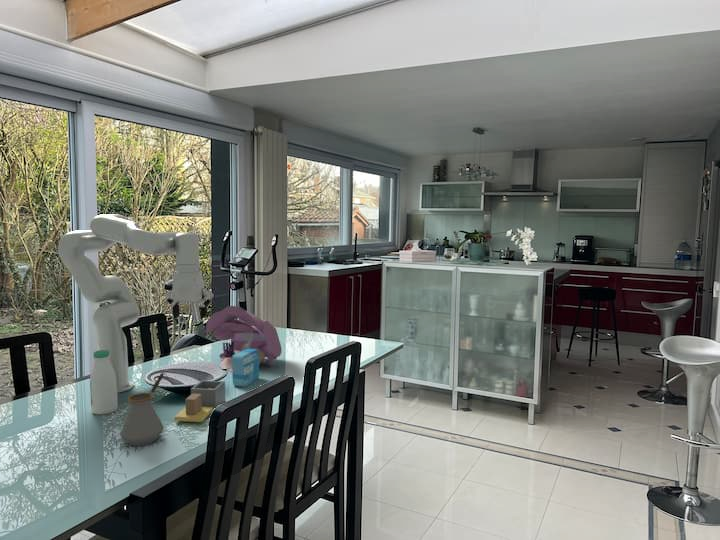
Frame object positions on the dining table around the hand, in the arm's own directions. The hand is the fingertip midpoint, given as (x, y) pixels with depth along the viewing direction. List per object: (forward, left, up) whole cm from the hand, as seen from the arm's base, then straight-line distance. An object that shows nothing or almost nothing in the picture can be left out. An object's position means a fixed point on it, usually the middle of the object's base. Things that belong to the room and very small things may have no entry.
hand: (189, 317), depth 178 cm
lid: (+9, -18, -27) cm, 34 cm away
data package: (+14, +16, -29) cm, 36 cm away
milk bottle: (-23, -16, -28) cm, 40 cm away
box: (+9, -7, -28) cm, 31 cm away
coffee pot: (0, -30, -28) cm, 41 cm away
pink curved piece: (+6, +38, -29) cm, 48 cm away
